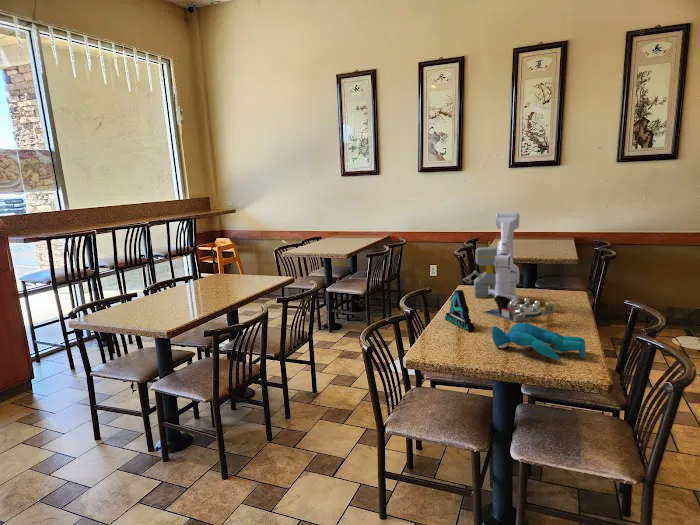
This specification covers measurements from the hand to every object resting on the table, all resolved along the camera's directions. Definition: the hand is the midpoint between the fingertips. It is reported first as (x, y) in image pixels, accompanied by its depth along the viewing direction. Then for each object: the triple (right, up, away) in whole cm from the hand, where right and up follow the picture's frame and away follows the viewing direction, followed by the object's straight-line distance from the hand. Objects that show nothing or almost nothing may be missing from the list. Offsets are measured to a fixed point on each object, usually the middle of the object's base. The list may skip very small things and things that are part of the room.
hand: (502, 313), depth 196 cm
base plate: (+8, -1, +4) cm, 9 cm away
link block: (+24, 0, +6) cm, 25 cm away
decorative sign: (-20, -5, -7) cm, 22 cm away
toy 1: (+5, +5, +37) cm, 37 cm away
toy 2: (-1, -9, -38) cm, 39 cm away
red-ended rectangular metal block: (+2, -1, -3) cm, 4 cm away
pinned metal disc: (+12, 0, +5) cm, 13 cm away
